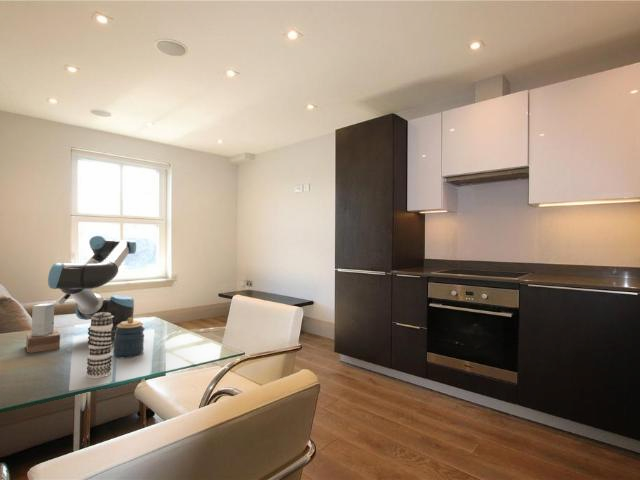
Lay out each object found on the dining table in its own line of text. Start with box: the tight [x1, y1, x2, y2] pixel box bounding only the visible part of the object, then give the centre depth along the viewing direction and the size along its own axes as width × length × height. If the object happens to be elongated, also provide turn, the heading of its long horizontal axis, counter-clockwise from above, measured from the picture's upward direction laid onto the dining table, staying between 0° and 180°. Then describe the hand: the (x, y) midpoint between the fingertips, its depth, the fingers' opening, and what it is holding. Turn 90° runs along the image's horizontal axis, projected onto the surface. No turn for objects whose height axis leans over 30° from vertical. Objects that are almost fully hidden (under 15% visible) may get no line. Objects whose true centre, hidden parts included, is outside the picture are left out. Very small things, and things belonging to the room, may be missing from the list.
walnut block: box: [25, 329, 61, 353], centre depth 169 cm, size 12×12×7 cm
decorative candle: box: [86, 312, 115, 379], centre depth 139 cm, size 9×9×25 cm
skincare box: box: [30, 302, 55, 336], centre depth 169 cm, size 8×6×15 cm
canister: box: [112, 317, 145, 359], centre depth 165 cm, size 13×13×18 cm
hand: (58, 303), depth 175 cm, fingers closed
